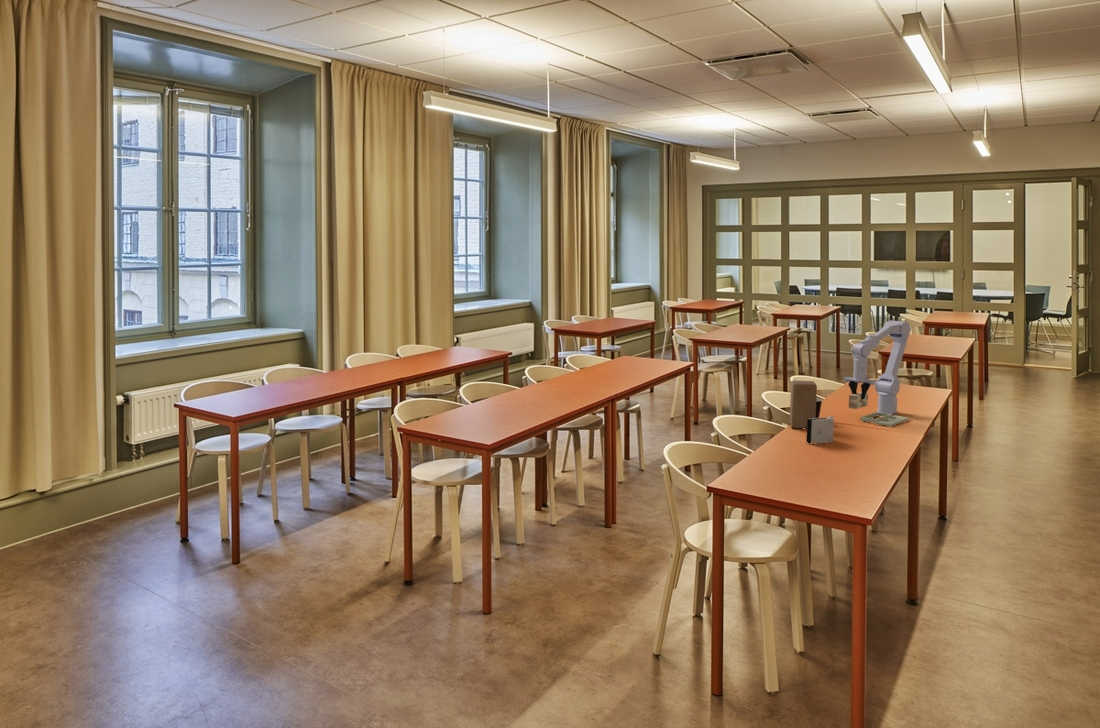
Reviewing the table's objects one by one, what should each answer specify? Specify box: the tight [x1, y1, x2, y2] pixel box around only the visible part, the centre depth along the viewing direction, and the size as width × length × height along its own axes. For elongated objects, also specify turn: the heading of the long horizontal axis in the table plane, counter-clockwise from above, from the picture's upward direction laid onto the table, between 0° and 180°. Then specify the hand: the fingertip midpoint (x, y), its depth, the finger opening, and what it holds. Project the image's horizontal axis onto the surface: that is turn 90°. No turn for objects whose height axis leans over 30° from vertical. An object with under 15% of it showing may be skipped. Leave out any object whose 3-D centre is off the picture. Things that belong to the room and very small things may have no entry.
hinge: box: [805, 415, 835, 444], centre depth 331 cm, size 14×5×10 cm, turn 116°
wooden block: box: [789, 380, 818, 430], centre depth 359 cm, size 10×10×20 cm
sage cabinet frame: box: [860, 411, 910, 427], centre depth 371 cm, size 20×14×2 cm
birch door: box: [848, 391, 869, 410], centre depth 379 cm, size 12×4×6 cm, turn 134°
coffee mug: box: [815, 397, 823, 418], centre depth 373 cm, size 12×9×10 cm
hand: (858, 398), depth 379 cm, fingers open, 3 cm apart
